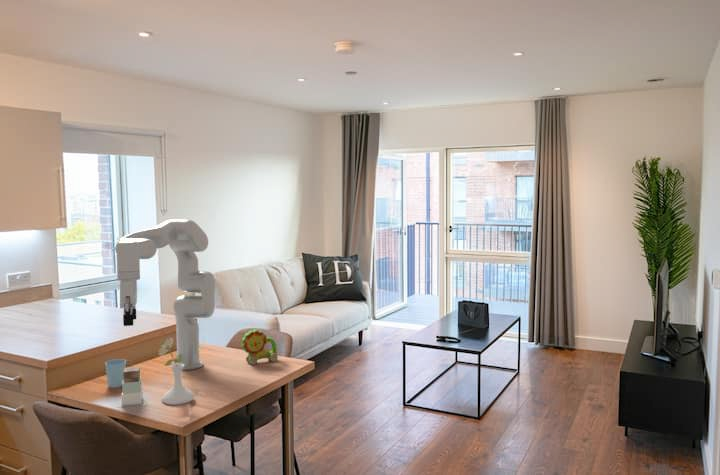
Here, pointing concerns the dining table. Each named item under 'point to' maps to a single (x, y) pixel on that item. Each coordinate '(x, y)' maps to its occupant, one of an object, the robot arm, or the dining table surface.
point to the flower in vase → (178, 391)
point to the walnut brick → (131, 374)
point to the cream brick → (132, 398)
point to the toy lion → (258, 347)
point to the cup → (115, 372)
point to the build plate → (144, 401)
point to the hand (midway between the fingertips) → (130, 322)
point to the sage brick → (131, 387)
